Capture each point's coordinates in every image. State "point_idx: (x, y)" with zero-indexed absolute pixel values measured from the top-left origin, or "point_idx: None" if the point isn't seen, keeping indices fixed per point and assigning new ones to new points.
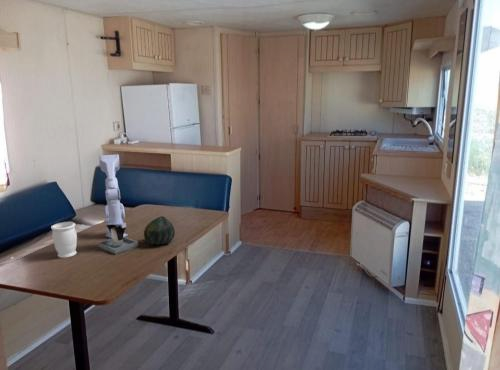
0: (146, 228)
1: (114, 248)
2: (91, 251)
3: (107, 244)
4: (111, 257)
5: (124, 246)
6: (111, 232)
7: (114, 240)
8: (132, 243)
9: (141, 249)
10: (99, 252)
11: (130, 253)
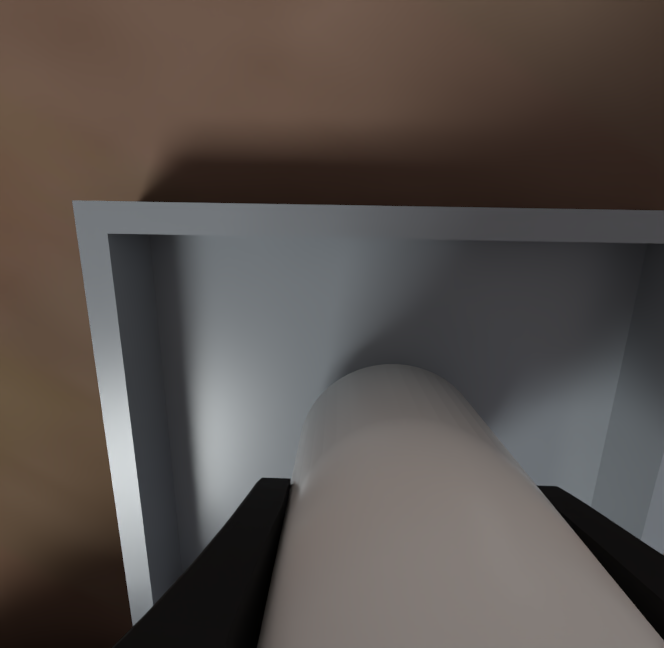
0: None
1: (338, 332)
2: (632, 21)
3: (602, 365)
4: (66, 97)
5: (106, 419)
6: (528, 607)
7: (357, 419)
8: (126, 565)
9: (42, 537)
10: (450, 94)
11: (10, 378)
